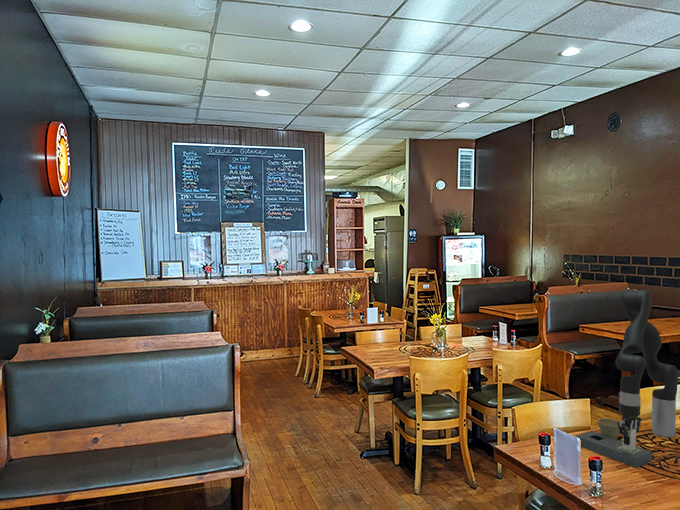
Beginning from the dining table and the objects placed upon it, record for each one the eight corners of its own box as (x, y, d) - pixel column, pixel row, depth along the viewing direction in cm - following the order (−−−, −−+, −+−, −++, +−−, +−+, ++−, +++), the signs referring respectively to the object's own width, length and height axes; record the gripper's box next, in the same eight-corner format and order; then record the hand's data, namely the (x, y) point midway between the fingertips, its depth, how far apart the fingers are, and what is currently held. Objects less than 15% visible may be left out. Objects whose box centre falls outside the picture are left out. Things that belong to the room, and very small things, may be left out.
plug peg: (625, 453, 202) (625, 425, 202) (635, 457, 199) (635, 428, 198) (620, 455, 201) (621, 427, 200) (630, 459, 197) (631, 430, 197)
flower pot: (597, 439, 219) (598, 423, 219) (597, 431, 228) (597, 416, 228) (623, 443, 215) (623, 427, 215) (621, 435, 224) (622, 420, 223)
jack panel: (592, 439, 220) (592, 430, 219) (652, 461, 197) (652, 451, 197) (575, 444, 214) (575, 435, 214) (635, 468, 191) (635, 457, 191)
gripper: (630, 397, 205) (629, 436, 206) (610, 402, 198) (610, 443, 199) (648, 402, 199) (648, 443, 199) (629, 408, 192) (628, 450, 192)
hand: (629, 443), depth 199 cm, fingers closed on plug peg, 3 cm apart
